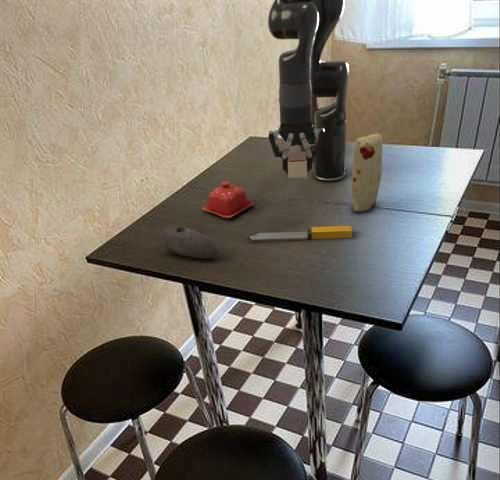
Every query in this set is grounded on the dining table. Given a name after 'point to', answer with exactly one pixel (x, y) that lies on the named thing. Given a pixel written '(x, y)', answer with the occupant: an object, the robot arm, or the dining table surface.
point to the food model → (366, 171)
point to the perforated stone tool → (188, 243)
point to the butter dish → (227, 200)
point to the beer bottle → (312, 138)
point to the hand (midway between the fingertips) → (297, 171)
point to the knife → (306, 234)
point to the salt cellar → (297, 164)
